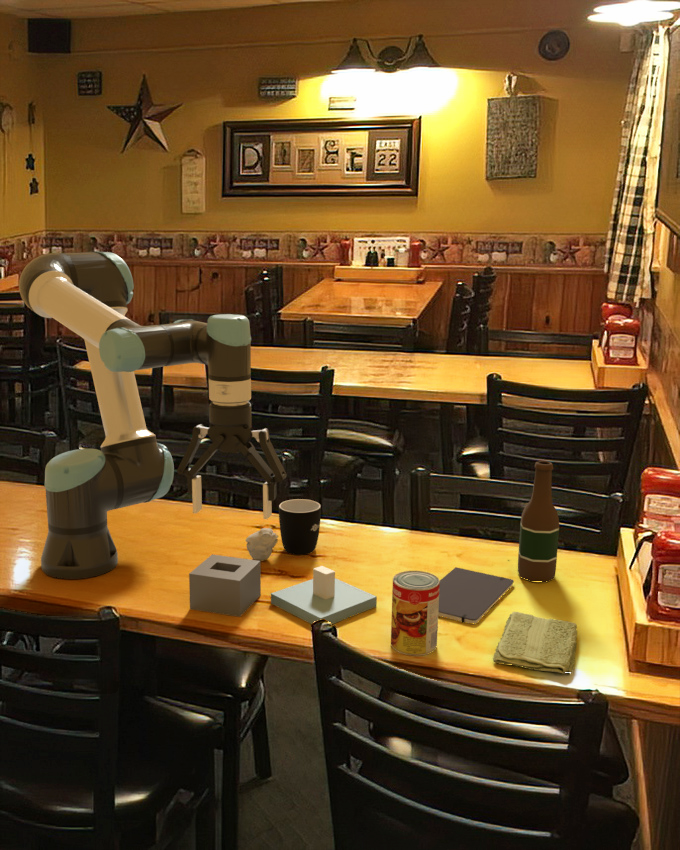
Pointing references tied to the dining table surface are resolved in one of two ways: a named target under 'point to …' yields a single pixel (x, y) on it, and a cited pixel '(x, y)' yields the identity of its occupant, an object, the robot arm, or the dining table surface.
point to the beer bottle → (539, 529)
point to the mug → (299, 525)
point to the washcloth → (537, 643)
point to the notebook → (469, 594)
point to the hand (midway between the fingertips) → (232, 514)
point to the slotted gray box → (225, 585)
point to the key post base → (323, 598)
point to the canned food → (414, 612)
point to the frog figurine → (261, 544)
